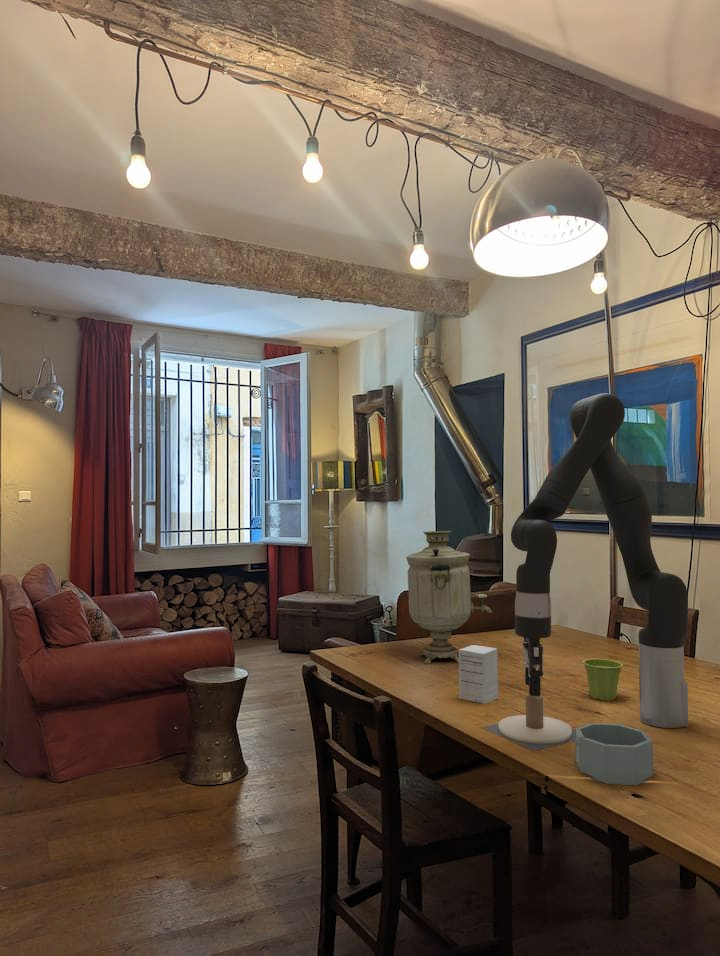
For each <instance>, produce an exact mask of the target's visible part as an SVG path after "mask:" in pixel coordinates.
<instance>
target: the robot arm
mask: <svg viewBox="0 0 720 956" xmlns="http://www.w3.org/2000/svg"><path fill="white" fill-rule="evenodd" d="M625 417H626V410H625V405H624V403H623V401H622V400H621V399H620V398H619V397H618V396H617V395H615V394H613V393H610V392H609V393H607V392H606V393H605V392H604V393H599V394H594V395H591V396H588V397H586V398H585V397H584V398H583V399H580V400H578V401H576V402H575V403H574V404H573V405H572V407H571V409H570V411H569V421H570V426H571V429H572V432H573V434H574V437H575V441H574V442H573V444H572V445H571V446H570V448H569V449H568V450H566V452H565V453H564V455H562V457H561V458H560V459H559V460H558V461H557V462H556V464H554V466H553V467H552V468H551V469H550V471H548V473H547V475H546V477H545V478H544V480H543V482H542V485H541V486H540V488H539V490H538V492H537V493H536V496H535V497H534V499H533V500H532V501H530V503H529V504H528V505H527V506H526V507H525V509H523V511H522V512H521V513H520V515H519V516H518V517H517V518H516V519H515V522H514V524H513V525H512V528H511V531H510V532H511V533H510V541H511V543H512V545H513V547H515V548H516V549H517V550H519V551H521V552H526V556H525V561H524V563H522V564H519V565H518V566H517V569H516V574H515V578H516V580H515V581H516V583H515V584H516V587H515V589H516V590H515V599H514V634H515V635H516V636H518V637H520V638H523V642H522V659H523V662H524V663H523V665H524V667H525V669H524V673H525V674H524V677H525V678H524V679H525V681H524V682H525V685H527V686H528V694H529V695H531V696H541V678H542V677H543V676H544V672H543V668H544V667H543V665H544V657H543V654H544V646H543V645H542V643H541V642H540V641H541V639H548V638H549V637H551V636H552V598H551V571H552V567H553V565H554V561H555V556H556V552H557V548H558V547H557V546H558V536H557V531H556V529H555V527H554V526H553V524H551V522H552V521H554V520H556V519H558V518H561V517H562V516H564V514H565V513H566V511H567V509H568V507H569V506H570V504H571V502H572V501H573V498H574V496H575V494H576V492H577V491H578V489H579V487H580V485H581V483H582V481H583V480H584V478H585V476H586V475H587V474H588V473H589V470H590V471H591V474H592V477H593V479H594V483H595V484H596V488H597V490H598V493H599V497H600V499H601V503H602V505H603V506H602V507H603V509H604V511H605V514H606V517H607V520H608V522H609V524H610V527H611V530H612V532H613V536H614V539H615V541H616V544H617V547H618V549H619V551H620V555H621V558H622V561H623V566H624V569H625V570H624V571H625V574H626V578H627V582H628V586H629V591H630V593H631V594H630V595H631V597H632V598H633V600H634V602H635V604H637V606H638V607H640V608H641V609H643V610H645V611H648V614H647V615H648V616H647V617H648V618H647V623H646V626H644V627H642V628H640V630H638V668H639V669H638V672H639V674H638V680H639V681H638V683H639V688H638V689H639V720H640V721H641V722H642V723H643V724H645V725H650V726H651V727H652V726H653V727H658V728H664V729H665V728H666V729H676V728H677V729H678V728H682V727H686V728H687V727H689V696H688V695H689V694H688V693H689V691H688V689H689V687H688V685H689V684H688V682H687V681H686V680H685V660H684V659H685V655H684V654H685V652H684V651H685V649H684V645H685V643H684V640H685V637H686V635H687V631H688V624H689V623H688V619H689V618H688V616H689V595H688V594H689V593H688V589H687V586H686V584H685V582H684V580H682V578H680V577H679V576H678V575H676V574H672V573H669V572H662V571H661V569H660V568H659V565H658V563H657V561H656V558H655V555H654V553H653V550H652V544H651V537H652V536H651V535H652V525H653V523H652V522H653V517H652V515H653V514H652V510H651V506H650V503H649V501H648V499H647V495H646V493H645V490H644V488H643V485H642V483H641V482H640V481H639V479H638V478H637V476H636V475H635V474H634V473H633V472H632V471H631V470H630V469H629V467H628V466H627V465H626V464H625V463H624V462H623V460H621V458H620V457H619V455H618V454H617V452H616V450H615V448H614V446H613V443H612V438H613V437H614V436H615V435H616V433H618V431H619V430H620V428H621V426H622V425H623V423H624V421H625Z"/></svg>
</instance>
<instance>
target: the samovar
mask: <svg viewBox="0 0 720 956" xmlns="http://www.w3.org/2000/svg"><path fill="white" fill-rule="evenodd" d="M422 533H423V534H424V535H425V536H426V537H425V538H426V542H427V543H428V547H427V546H425V548H423V549H422V550H421V551H417V552H416V553H411V554H408V555H406V556H405V557H406V561H407V564H408V566H409V567H408V569H407V585H408V586H407V589H408V612H409V615H410V616H409V617H410V618H411V620H413V622H414V623H415V624H417V625H419V627H420V628H422V629H423V630H427V631H428V632H429V634H428V638H430V639H431V640H432V641H431V642H430V643H428V644H427V645H426V646H425V647H424V648H423V651H422V652H420V654H419V657H421V656H425V657H426V658H425V660H424V661H423V662H424V664H431V662H432V661H433V660H434V659H435V658H439V659H443V658H445V659H447V658H451V659H453V660H455V661H456V663H458V664H459V656H458V651H457V648H456V647H455V646H454V645H453V644H451V643H450V642H449V641H448V640H449V639H452V631H454V630H458V628H460V627H462V626H463V625H464V624H465V623H466V622H467V621H468V619H469V618H470V616H471V615H472V614H473V613H474V612H475V610H480V612H481V613H483V612H487V614H492V613H493V611H492V610H491V608H490V607H488V606H487V605H486V604H484V600H483V599H486V598H487V597H488V595H487V594H485V593H476V594H474V596H475V597H477V598H479V600H480V604H479V605H474V604H475V603H474V602H472V600H471V599H472V598H471V597H472V596H471V577H470V575H471V573H470V568H469V566H468V563H469V561H470V556H471V554H470V553H468V552H464V551H458V550H455V549H454V548H453V547H451V546H448V545H447V544H448V542H449V535H450V534H451V533H452V531H451V530H437V531H436V530H433V531H431V530H430V531H422Z"/></svg>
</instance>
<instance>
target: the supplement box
mask: <svg viewBox="0 0 720 956" xmlns="http://www.w3.org/2000/svg"><path fill="white" fill-rule="evenodd" d="M498 656H499V655H498V648H496V647H491V646H483V645H476V644H471V645H469V646H466V647H463V648H460V649H458V658H459V663H458V698H459V700H466V701H470V702H475V703H480V704H483V705H484V704H487V703H489V702H491V701H495V700H498V699H499V675H498V674H499V672H498V671H499V668H498V663H499V662H498V659H499V658H498Z"/></svg>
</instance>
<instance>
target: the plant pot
mask: <svg viewBox="0 0 720 956" xmlns="http://www.w3.org/2000/svg"><path fill="white" fill-rule="evenodd" d="M582 664H583V665H584V668H585V671H586V675H587V676H586V677H587V683H588V690H589V692H588V693H589V696H590V697H591V698H592V699H594V700H597V699H599V700H601V701H604V702H607V701H610V702H611V701H614V700H615V699H617V694H618V693H617V692H618V686H619V685H618V684H619V679H620V674H621V670H622V668H623V666H624V665H623V663H621V662H619V661H617V660H612V659H603V658H588V659H584V660H583V661H582Z"/></svg>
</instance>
